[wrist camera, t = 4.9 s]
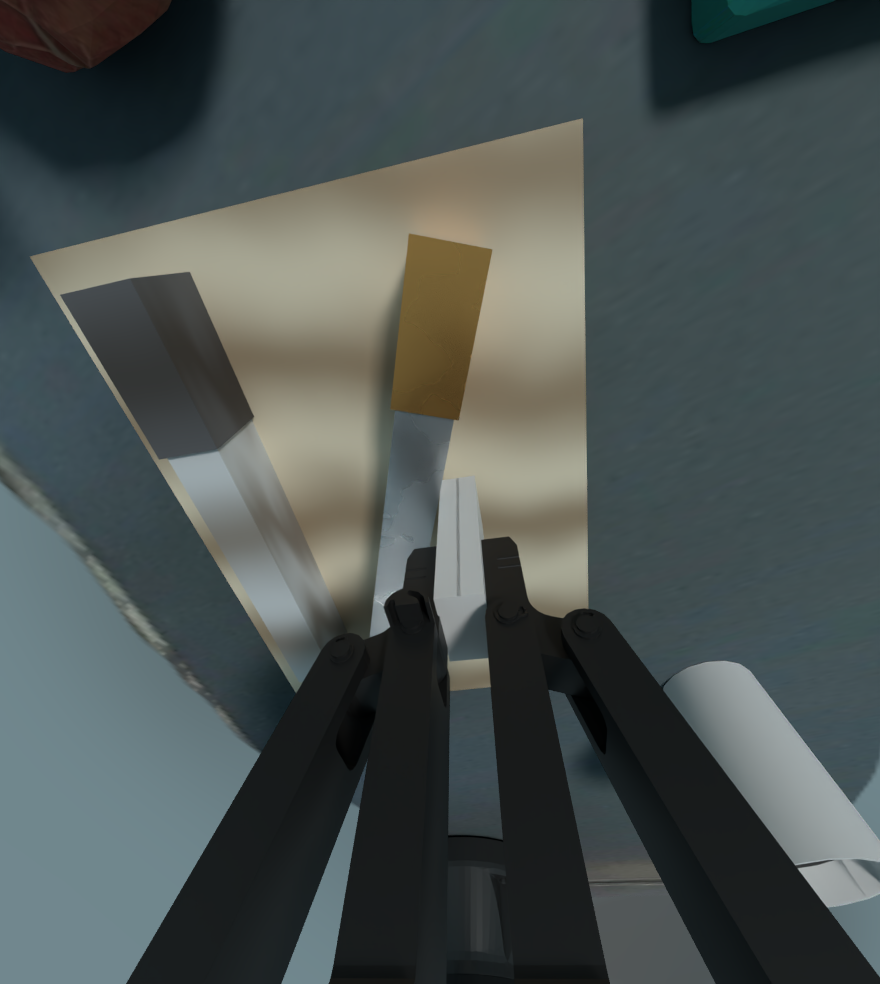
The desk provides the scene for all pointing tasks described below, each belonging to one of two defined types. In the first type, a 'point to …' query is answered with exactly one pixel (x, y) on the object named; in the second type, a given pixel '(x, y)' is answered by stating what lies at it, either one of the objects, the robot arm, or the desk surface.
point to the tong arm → (426, 396)
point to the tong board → (350, 375)
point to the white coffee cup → (780, 779)
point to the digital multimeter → (741, 15)
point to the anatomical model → (73, 29)
